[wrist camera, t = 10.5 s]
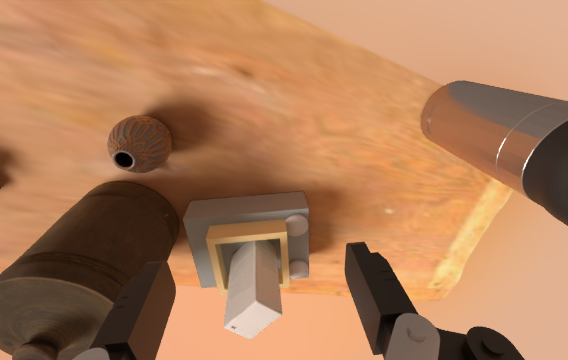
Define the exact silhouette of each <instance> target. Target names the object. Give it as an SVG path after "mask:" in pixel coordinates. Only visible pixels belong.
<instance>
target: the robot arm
mask: <svg viewBox="0 0 568 360" xmlns="http://www.w3.org/2000/svg"><path fill="white" fill-rule="evenodd" d="M421 127H422V130H423V133H424V135H425V136H426V137H427V138H428V139H429V140H430V141H432V142H434V143H435V144H437V145H439V146H440V147H442V148H444V149H445V150H447V151H449V152H450V153H452V154H454V155H455V156H457V157H459V158H461V159H462V160H464V161H466V162H467V163H469V164H471V165H473V166H474V167H476V168H478V169H479V170H481V171H483V172H484V173H486V174H488V175H490V176H491V177H493V178H495V179H496V180H498V181H500V182H502V183H503V184H505V185H507V186H509V187H510V188H512V189H514V190H515V191H517V192H519V193H521V194H522V195H524V196H526V197H527V198H529V199H531V200H532V201H534V202H536V203H537V204H539V205H541V206H542V207H544V208H545V209H546V210H547V211H548V212H549V213H550V214H551V215H553V216H554V217H555V218H557V219H558V220H560V221H561V222H563V223H564V224H566V225H567V226H568V101H564V100H559V99H554V98H549V97H543V96H539V95H534V94H529V93H524V92H518V91H514V90H509V89H504V88H499V87H494V86H489V85H484V84H479V83H474V82H468V81H455V82H452V83H449V84H447V85H445V86H443V87H442V88H440V89H439V90H438V91H436V92H435V93H434V94H433V95H432V96H431V98H430V99H429V101H428V102H427V103H426V106H425V108H424V110H423V113H422V117H421ZM345 276H346V281H347V284H348V286H349V289H350V292H351V295H352V297H353V300H354V303H355V306H356V308H357V311H358V314H359V316H360V319H361V322H362V325H363V328H364V330H365V333H366V336H367V339H368V341H369V344H370V347H371V350H372V352H373V354H374V355H379V354H382V355H383V357H384V360H525V359H524V358H523V357H522V356H521V354H520V353H519V352H518V350H517V349H516V348H515V346H514V345H513V344H512V343H511V342H510V341H509V340H508V339H507V338H506V337H504V336H503V335H502V334H500V333H498V332H496V331H495V330H492V329H490V328H486V327H479V326H478V327H473V328H471V329H470V330H469V331H468V333H467V335H465V334H460V333H455V332H450V331H445V330H441V329H438V328H436V327H435V326H434V325H433V324H432V323H431V322H430V321H428V320H427V319H426V318H424V317H422V316H420V315H419V314H418V313H417V311H416V309H415V308H414V306H413V304H412V302H411V301H410V299H409V297H408V296H407V294H406V292H405V290H404V289H403V287H402V285H401V284H400V282H399V280H398V279H397V277H396V275H395V273H394V272H393V270H392V268H391V266H390V265H389V263H388V261H387V260H386V259H385V258H384V257H382V256H381V255H380V254H379V253H378V252H376V253H370V251H369V249H368V247H367V245H366V244H365V242H355V243H347V245H346V257H345ZM175 294H176V287H175V283H174V280H173V277H172V274H171V271H170V268H169V265H168V263H167V261H166V260H163V261H153V262H147V263H146V264H145V265H144V267H143V269H142V271H141V273H140V275H137V276H133V277H132V278H131V279H130V280H129V281H128V282H127V283H126V284H125V285H124V286H123V288H122V290H121V291H120V293H119V295H118V297H117V300H116V301H115V302H114V304H113V306H112V310H110V311H109V313H108V315H107V317H106V319H105V321H104V322H103V324H102V326H101V328H100V330H99V331H98V333H97V335H96V337H95V339H94V341H93V342H92V344H91V346H90V348H89V349H88V350H86V351H84V352H82V353H80V354H79V355H78V356H76V357H75V358H74V359H72V360H155V358H156V355H157V352H158V349H159V346H160V343H161V340H162V337H163V334H164V330H165V327H166V324H167V321H168V317H169V315H170V312H171V309H172V306H173V303H174V299H175Z"/></svg>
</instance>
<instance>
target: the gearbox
mask: <svg viewBox="0 0 568 360" xmlns="http://www.w3.org/2000/svg"><path fill="white" fill-rule="evenodd" d="M183 223H184V226H185V230H186V233H187V237H188V241H189V244H190V248H191V251H192V255H193V259H194V262H195V266H196V269H197V273H198V277H199V280H200V284H201V287H202V288H207V287H217V288H218V292H219V295H223V294H227V292H228V283H229V274H230V265H231V256H232V255H233V254H234V253H235V252H236V251H237V250H239V249H240V248H241V247H242V246H243V245H244V244H245V243H246V242H247V241H256V240H267V241H269V242H270V243H272V244H274V245H275V247H276V256H277V266H278V276H279V286H280V289H281V288H290V279H301V278H305V277H309V208H308V205H307V201H306V198H305V195H304V191H299V192H287V193H275V194H264V195H252V196H240V197H228V198H217V199H205V200H193V201H190V203H189V206H188V208H187V210H186V213H185V215H184V217H183Z"/></svg>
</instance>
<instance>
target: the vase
mask: <svg viewBox="0 0 568 360" xmlns="http://www.w3.org/2000/svg"><path fill="white" fill-rule="evenodd" d="M171 150H172V138H171V134H170V132H169V130H168V129H167V128H166V126H165V125H164V124H163V123H161V122H160V121H159V120H157V119H155V118H152V117H149V116H143V115H137V116H131V117H128V118H126V119H124V120H122V121H120V122H119V123H118V124H117V125H116V126H115V127H114V128H113V129H112V131H111V133H110V135H109V138H108V151H109V154H110V156H111V158H112V160H113V162H114V164H115V165H116V166H117V167H118V168H120V169H123V170H127V171H130V172H135V173H145V172H149V171H152V170H155V169H157V168H158V167H160V166H161V165H162V164H164V162H165V161H166V160H167V159H168V157H169V155H170V153H171Z"/></svg>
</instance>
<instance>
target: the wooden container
mask: <svg viewBox="0 0 568 360" xmlns="http://www.w3.org/2000/svg"><path fill="white" fill-rule="evenodd" d="M178 231H179V222H178V218H177V215H176V213H175V211H174V209H173V208H172V206H171V205H170V204H169V202H168V201H167V200H166V199H164V198H163V197H162V196H161V195H159V194H158V193H157V192H155V191H153V190H151V189H149V188H147V187H144V186H142V185H139V184H135V183H130V182H111V183H106V184H103V185H100V186H98V187H96V188H94V189H93V190H91V191H90V192H89V193H88V194H86V195H85V196H84V197H83V198H82V199H81V200H80V201H79V202H78V203H77V204H75V205H74V206H73V207H72V208H71V209H70V210H69V211H67V212H66V213H65V214H64V215H63V216H62V217H61V218H60V219H59V220H58V221H57V222H56V223H55V224H54V225H53V226H52V227H51V228H50V229H49V230H48V231H47V232H46V233H45V234H44V235H43V236H42V237H40V238H39V239H38V240H37V241H36V242H35V243H34V244H33V245H32V246H31V247H30V248H29V249H28V250H27V251H26V252H25V253H24V254H23V255H22V256H20V257H19V258H18V259H17V260H16V261H15V262H14V263H13V264H12V265H11V266H9V267H8V268H7V269H6V270H4V271H3V272H2V273H1V274H0V349H1V350H2V351H4V352H6V353H8V354H10V355H12V356H13V357H12V360H72V359H74V358H75V357H76V356H78V355H79V354H80V353H82V352H84V351H86V350H88V349H89V348H90V346H91V344H92V342H93V341H94V339H95V337H96V335H97V333H98V331H99V330H100V328H101V326H102V324H103V322H104V321H105V319H106V317H107V315H108V313H109V311H110V310H112V306H113V304H114V302H115V301H116V300H117V297H118V295H119V293H120V291H121V290H122V288H123V286H124V285H125V284H126V283H127V282H128V281H129V280H130V279H131V278H132V277H133V276H137V275H140V273H141V271H142V269H143V267H144V265H145V264H146V263H147V262H153V261H163V260H166V261H167V260H168V258H169V255H170V253H171V250H172V248H173V245H174V243H175V240H176V238H177V235H178Z"/></svg>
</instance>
